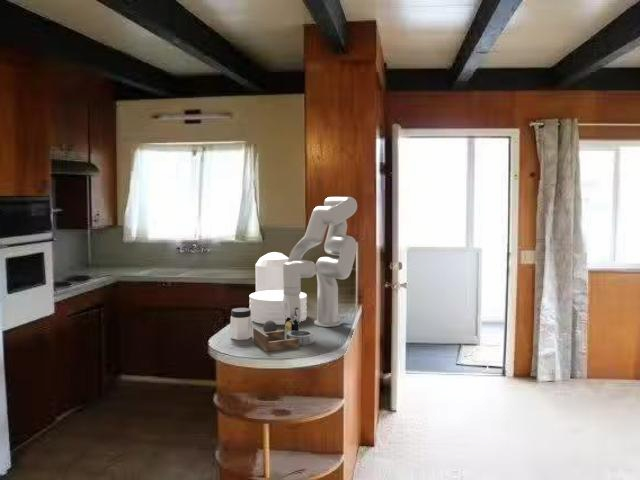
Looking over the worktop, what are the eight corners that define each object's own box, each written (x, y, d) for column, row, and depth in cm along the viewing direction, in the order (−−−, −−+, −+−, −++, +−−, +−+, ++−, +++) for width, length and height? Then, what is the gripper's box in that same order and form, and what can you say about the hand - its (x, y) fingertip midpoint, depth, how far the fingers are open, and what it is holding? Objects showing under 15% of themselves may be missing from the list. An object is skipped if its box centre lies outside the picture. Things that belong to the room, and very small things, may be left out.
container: (251, 299, 319) (250, 250, 316) (286, 296, 327) (286, 249, 324) (261, 306, 300) (261, 254, 297) (298, 303, 308) (298, 253, 305)
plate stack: (299, 326, 257) (299, 301, 256) (241, 323, 263) (241, 299, 262) (312, 313, 284) (312, 291, 283) (259, 310, 290) (259, 288, 289)
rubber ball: (273, 331, 246) (273, 318, 245) (279, 335, 240) (279, 321, 240) (261, 333, 243) (261, 319, 243) (266, 336, 238) (265, 322, 237)
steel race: (306, 337, 237) (306, 328, 237) (317, 343, 228) (318, 335, 227) (282, 339, 233) (282, 331, 232) (293, 346, 223) (293, 338, 222)
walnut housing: (283, 338, 235) (283, 324, 234) (298, 347, 222) (298, 332, 221) (253, 342, 229) (253, 327, 229) (266, 351, 216) (266, 336, 215)
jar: (255, 337, 236) (255, 309, 235) (240, 341, 230) (240, 312, 229) (242, 333, 242) (242, 306, 241) (227, 337, 236) (226, 309, 235)
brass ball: (295, 331, 247) (295, 317, 247) (301, 334, 242) (301, 320, 241) (283, 332, 245) (282, 319, 244) (288, 335, 239) (288, 322, 239)
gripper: (276, 288, 248) (276, 327, 249) (291, 294, 232) (291, 337, 234) (292, 286, 251) (292, 326, 252) (308, 293, 235) (308, 335, 237)
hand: (291, 330), depth 243 cm, fingers closed on brass ball, 6 cm apart
